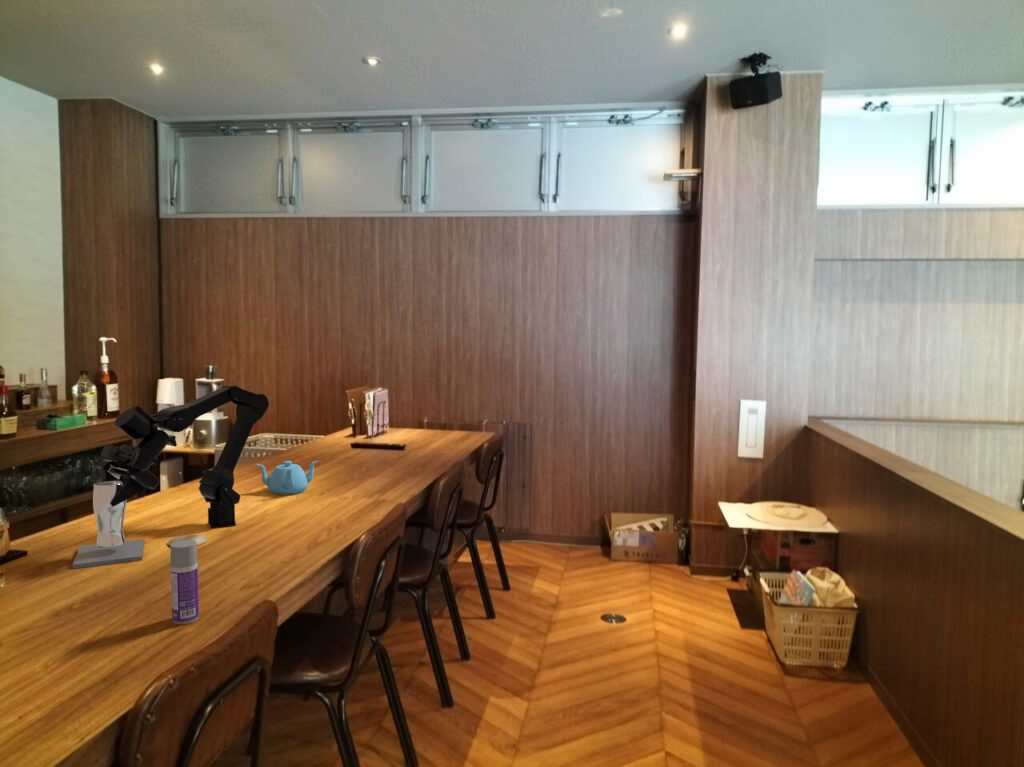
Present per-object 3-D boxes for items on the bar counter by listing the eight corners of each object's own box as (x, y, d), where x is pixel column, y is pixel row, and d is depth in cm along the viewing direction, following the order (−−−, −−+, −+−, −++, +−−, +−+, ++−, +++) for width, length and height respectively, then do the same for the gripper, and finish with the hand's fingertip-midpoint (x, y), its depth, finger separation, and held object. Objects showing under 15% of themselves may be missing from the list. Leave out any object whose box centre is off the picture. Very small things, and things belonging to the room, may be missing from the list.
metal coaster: (206, 534, 179) (206, 533, 179) (207, 545, 171) (207, 543, 171) (168, 539, 175) (168, 537, 175) (168, 549, 167) (168, 547, 167)
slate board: (144, 542, 172) (144, 538, 172) (142, 560, 160) (142, 556, 160) (80, 549, 166) (80, 546, 166) (72, 568, 153) (72, 564, 153)
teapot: (288, 484, 236) (287, 455, 235) (321, 489, 230) (320, 459, 229) (256, 493, 223) (255, 463, 222) (290, 499, 216) (289, 467, 215)
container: (203, 613, 131) (201, 539, 130) (192, 624, 127) (190, 547, 125) (179, 613, 131) (176, 539, 130) (167, 624, 127) (165, 547, 125)
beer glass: (86, 547, 159) (85, 484, 159) (110, 539, 166) (109, 479, 166) (110, 549, 158) (109, 486, 157) (134, 541, 165) (133, 481, 164)
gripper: (102, 427, 168) (57, 479, 160) (144, 435, 158) (98, 490, 150) (135, 453, 176) (93, 503, 167) (177, 461, 166) (135, 516, 158)
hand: (103, 503), depth 160 cm, fingers closed on beer glass, 6 cm apart
